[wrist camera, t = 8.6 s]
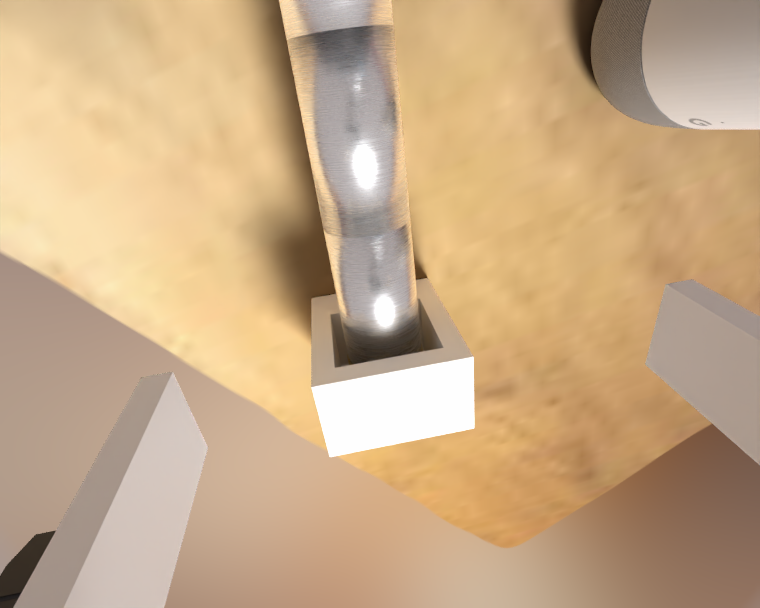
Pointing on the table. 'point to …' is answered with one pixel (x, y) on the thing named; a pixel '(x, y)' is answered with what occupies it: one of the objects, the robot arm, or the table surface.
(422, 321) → the socket block
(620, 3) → the smart speaker
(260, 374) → the table surface
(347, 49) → the tube
